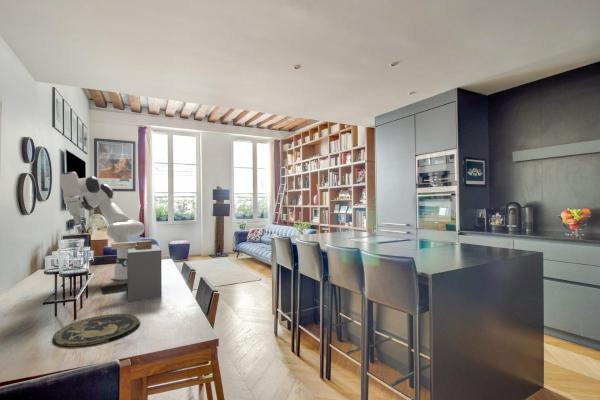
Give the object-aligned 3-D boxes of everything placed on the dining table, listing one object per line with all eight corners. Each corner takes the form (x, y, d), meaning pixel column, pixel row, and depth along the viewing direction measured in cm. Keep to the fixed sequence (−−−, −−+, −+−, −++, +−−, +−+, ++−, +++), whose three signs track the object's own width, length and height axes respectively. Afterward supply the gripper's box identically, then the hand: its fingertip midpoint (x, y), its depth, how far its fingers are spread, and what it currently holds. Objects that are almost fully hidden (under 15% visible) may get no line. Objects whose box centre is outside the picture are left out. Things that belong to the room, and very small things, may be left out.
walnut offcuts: (135, 248, 180) (135, 241, 180) (151, 246, 184) (151, 240, 184) (135, 249, 175) (135, 242, 175) (152, 248, 179) (152, 241, 179)
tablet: (148, 280, 209) (154, 286, 192) (148, 281, 209) (154, 287, 192) (100, 287, 193) (102, 294, 177) (100, 288, 193) (102, 296, 177)
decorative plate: (71, 317, 137) (146, 310, 146) (71, 322, 137) (146, 314, 146) (35, 349, 109) (131, 337, 117) (35, 354, 109) (131, 342, 117)
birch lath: (111, 248, 179) (111, 243, 179) (149, 245, 189) (149, 240, 189) (111, 249, 176) (111, 244, 176) (150, 246, 186) (150, 241, 186)
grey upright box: (127, 289, 187) (127, 246, 188) (156, 285, 195) (156, 244, 196) (128, 302, 163) (128, 252, 163) (161, 297, 171) (161, 250, 171)
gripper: (70, 202, 184) (74, 225, 184) (63, 199, 166) (69, 224, 166) (82, 200, 187) (87, 222, 187) (77, 197, 169) (83, 221, 169)
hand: (78, 223), depth 176 cm, fingers open, 8 cm apart
